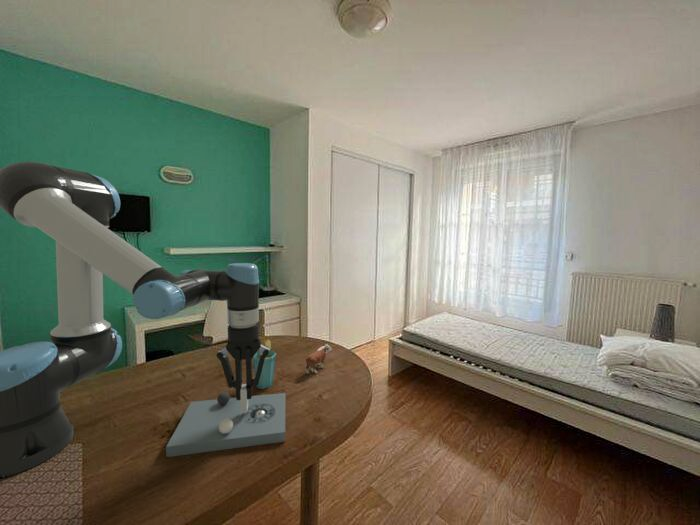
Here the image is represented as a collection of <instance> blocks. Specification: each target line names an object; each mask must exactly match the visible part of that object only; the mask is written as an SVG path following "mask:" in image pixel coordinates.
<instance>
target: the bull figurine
mask: <svg viewBox="0 0 700 525" xmlns="http://www.w3.org/2000/svg"><path fill="white" fill-rule="evenodd" d="M332 351H333V349H332V347H331V346H330V345H328V343H325V344H322V346H320V347H319V348H318V349H316V350H315V351H314V352H312V353H311V354H309V355H308V356H307V357H306V359H305V363H306V367H305V370H306V371H305V373H306V374H307V375H308V374H310V372H309V368H310V370H311V372H312V373H313V372H314V374H318V373H319V372H318V371H317V369H316V366H317V365H318V366H320V368H321V369H324V368H323V367H324V363H325V360H326V357H327V356H326V355H327V354H328V353H329V352H332Z"/></svg>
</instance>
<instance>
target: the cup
mask: <svg viewBox="0 0 700 525" xmlns="http://www.w3.org/2000/svg"><path fill="white" fill-rule="evenodd" d="M263 346H265V347H267V346H268V347H269V353H268V355H267V356H266V358H265V360H264V364H263V368H262V372H261V376H260V380H259V383H258V385H256V388H257V389H261V390H265V389H268V388H271V387H272V385H273V383H274V372H275V362H276V357H277V353H276V352H275V350H273V349H272V342H271V340H270V339H265V341H264V344H263ZM271 349H272V350H271ZM259 352H260V350H258V351H257V352H256V354H255V355H254V356H253V357H252V361H253V367H254V369H253V370H254V377H255V376H256V372H257V368H258V364H259V360H260V356H261V355H260V354H259Z"/></svg>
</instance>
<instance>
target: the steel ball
mask: <svg viewBox="0 0 700 525" xmlns="http://www.w3.org/2000/svg"><path fill="white" fill-rule="evenodd" d="M266 415H267V414H266V412H265V411H264V410H259V411H257V412H256V413H255V416H254V419H260V418H262V417H265V416H266Z"/></svg>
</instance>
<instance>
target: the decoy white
mask: <svg viewBox="0 0 700 525" xmlns="http://www.w3.org/2000/svg"><path fill="white" fill-rule="evenodd" d="M232 428H233V422H232V420H231V419H228V418H227V419H224V420H222V421H221V422H220V424H219V431H220V432H221V433H222V434H226V433H229V432H230V431H231V430H232Z"/></svg>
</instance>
